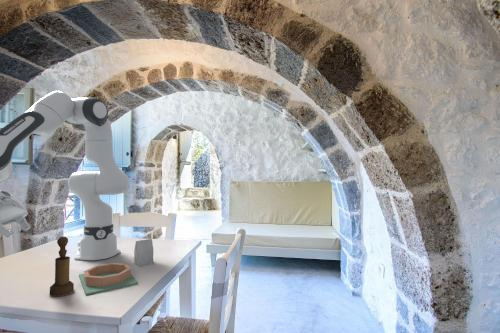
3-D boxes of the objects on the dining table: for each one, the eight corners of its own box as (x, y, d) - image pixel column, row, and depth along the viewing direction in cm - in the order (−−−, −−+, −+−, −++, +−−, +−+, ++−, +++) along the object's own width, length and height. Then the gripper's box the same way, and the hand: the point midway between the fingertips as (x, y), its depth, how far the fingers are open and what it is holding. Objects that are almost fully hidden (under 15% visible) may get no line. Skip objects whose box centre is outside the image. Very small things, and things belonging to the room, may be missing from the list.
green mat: (78, 276, 107) (78, 274, 107) (124, 267, 117) (124, 266, 117) (85, 295, 91) (85, 293, 91) (138, 283, 101) (138, 282, 101)
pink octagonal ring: (82, 276, 106) (82, 268, 106) (123, 268, 114) (124, 261, 114) (87, 289, 94) (87, 280, 94) (133, 280, 103) (133, 271, 103)
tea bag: (153, 263, 123) (153, 239, 123) (137, 266, 119) (137, 242, 119) (149, 260, 126) (150, 238, 126) (134, 264, 122) (134, 240, 122)
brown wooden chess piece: (77, 288, 97) (78, 234, 97) (66, 296, 90) (67, 239, 90) (57, 288, 96) (58, 234, 97) (44, 296, 90) (45, 239, 90)
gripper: (-32, 197, 79) (8, 232, 81) (12, 191, 99) (43, 219, 101) (-52, 214, 78) (-11, 248, 80) (-3, 204, 98) (29, 232, 100)
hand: (20, 232), depth 91 cm, fingers open, 8 cm apart
